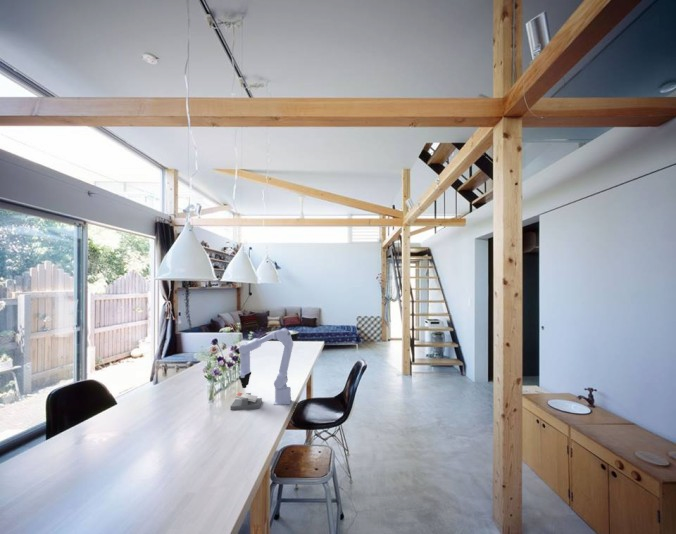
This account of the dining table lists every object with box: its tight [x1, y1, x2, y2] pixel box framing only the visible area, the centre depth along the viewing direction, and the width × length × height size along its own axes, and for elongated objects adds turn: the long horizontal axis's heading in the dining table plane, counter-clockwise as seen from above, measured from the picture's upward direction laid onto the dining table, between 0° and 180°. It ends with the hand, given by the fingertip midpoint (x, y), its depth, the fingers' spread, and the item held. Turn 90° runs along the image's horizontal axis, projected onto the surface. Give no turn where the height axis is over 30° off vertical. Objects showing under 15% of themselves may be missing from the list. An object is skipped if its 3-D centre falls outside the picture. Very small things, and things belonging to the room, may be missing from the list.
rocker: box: [235, 391, 259, 402], centre depth 189 cm, size 12×6×1 cm, turn 93°
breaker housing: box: [230, 392, 263, 411], centre depth 189 cm, size 16×11×6 cm
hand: (245, 386), depth 195 cm, fingers open, 5 cm apart
